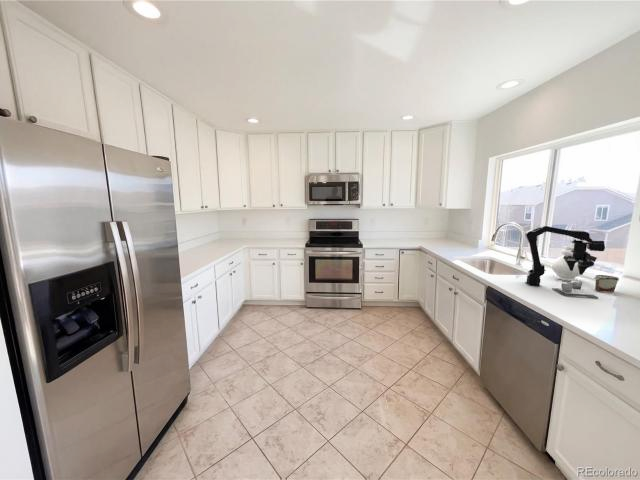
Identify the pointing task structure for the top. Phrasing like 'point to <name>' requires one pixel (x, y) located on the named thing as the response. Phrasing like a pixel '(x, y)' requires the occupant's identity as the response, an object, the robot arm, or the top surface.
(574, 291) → the scale pan
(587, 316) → the top surface
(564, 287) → the spacer
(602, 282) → the food container
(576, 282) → the spacer
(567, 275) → the decorative vase
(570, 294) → the scale
